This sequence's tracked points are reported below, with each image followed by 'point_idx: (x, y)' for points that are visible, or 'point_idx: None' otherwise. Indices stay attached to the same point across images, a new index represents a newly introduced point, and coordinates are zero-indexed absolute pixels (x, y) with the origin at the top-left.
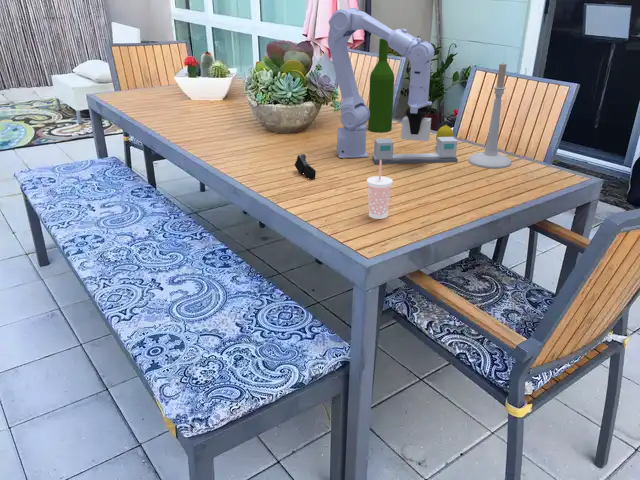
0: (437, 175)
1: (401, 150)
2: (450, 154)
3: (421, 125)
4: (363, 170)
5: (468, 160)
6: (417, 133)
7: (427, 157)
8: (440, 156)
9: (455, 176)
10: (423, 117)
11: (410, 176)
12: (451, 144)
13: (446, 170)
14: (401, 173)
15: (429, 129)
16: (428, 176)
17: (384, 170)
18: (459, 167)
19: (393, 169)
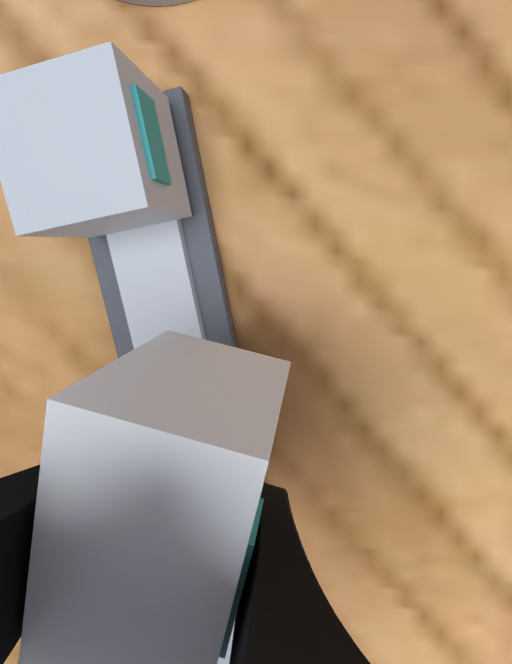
0: (479, 257)
1: (13, 424)
2: (170, 135)
3: (255, 518)
4: (387, 644)
5: (152, 4)
6: (288, 500)
7: (196, 301)
8: (191, 213)
9: (503, 134)
10: (25, 511)
11: (496, 422)
12: (143, 112)
13: (373, 187)
14: (438, 466)
15: (200, 375)
16: (498, 316)
17: (384, 547)
18: (304, 87)
19: (365, 500)
